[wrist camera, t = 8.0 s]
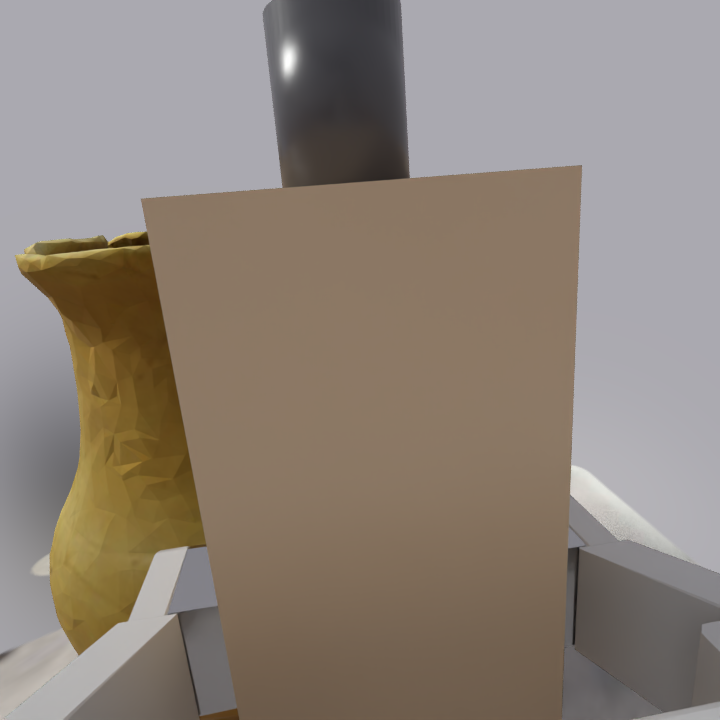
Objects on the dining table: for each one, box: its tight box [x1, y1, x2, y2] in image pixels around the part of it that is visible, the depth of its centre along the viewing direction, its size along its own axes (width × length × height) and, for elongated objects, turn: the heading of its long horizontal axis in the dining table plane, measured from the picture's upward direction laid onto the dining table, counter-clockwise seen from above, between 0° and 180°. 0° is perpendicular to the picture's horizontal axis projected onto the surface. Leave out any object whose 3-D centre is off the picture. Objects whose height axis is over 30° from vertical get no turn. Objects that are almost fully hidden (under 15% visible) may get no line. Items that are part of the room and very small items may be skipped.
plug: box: [141, 0, 582, 720], centre depth 8 cm, size 4×4×17 cm
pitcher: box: [15, 232, 239, 720], centre depth 26 cm, size 17×19×25 cm
